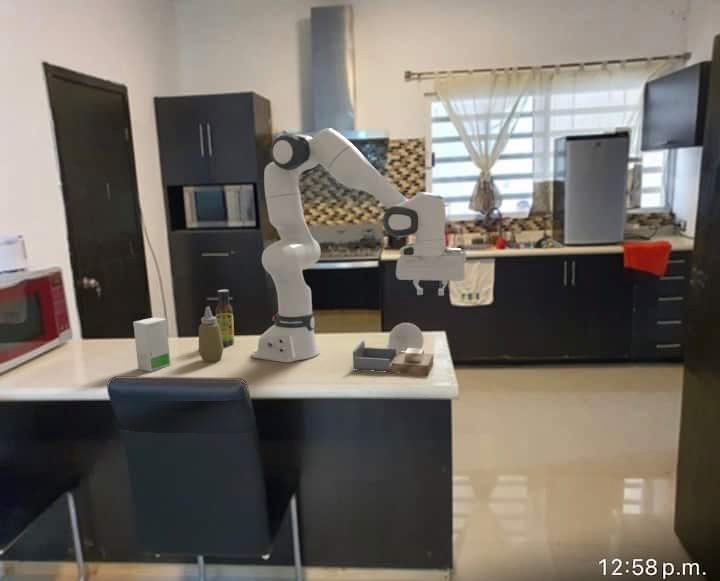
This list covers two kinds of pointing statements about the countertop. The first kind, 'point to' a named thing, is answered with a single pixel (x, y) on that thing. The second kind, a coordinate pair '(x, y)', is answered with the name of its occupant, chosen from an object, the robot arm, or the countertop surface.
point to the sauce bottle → (225, 317)
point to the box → (373, 358)
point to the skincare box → (152, 344)
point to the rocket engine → (405, 337)
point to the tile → (414, 354)
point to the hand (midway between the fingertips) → (430, 294)
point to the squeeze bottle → (210, 338)
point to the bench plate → (412, 364)
